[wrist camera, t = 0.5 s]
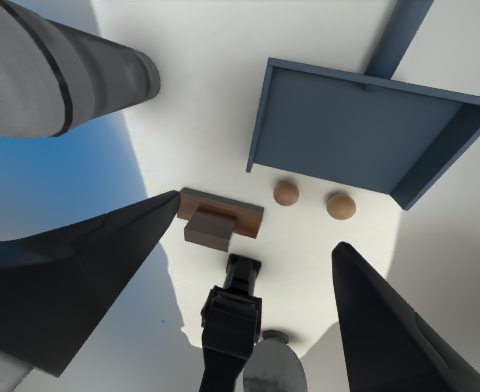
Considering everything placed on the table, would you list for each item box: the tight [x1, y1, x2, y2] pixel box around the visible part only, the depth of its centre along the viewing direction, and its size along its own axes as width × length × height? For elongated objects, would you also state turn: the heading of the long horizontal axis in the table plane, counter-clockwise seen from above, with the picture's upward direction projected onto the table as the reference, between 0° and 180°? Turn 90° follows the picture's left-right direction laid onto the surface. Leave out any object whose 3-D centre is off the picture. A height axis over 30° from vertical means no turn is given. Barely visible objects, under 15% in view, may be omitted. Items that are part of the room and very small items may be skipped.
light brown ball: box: [327, 194, 356, 220], centre depth 22 cm, size 3×3×3 cm
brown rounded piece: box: [273, 181, 299, 206], centre depth 22 cm, size 3×3×3 cm
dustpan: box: [246, 0, 480, 211], centre depth 15 cm, size 20×18×3 cm
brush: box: [177, 188, 264, 252], centre depth 25 cm, size 4×13×7 cm, turn 81°
